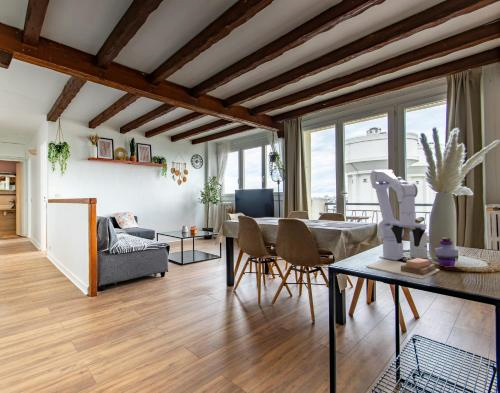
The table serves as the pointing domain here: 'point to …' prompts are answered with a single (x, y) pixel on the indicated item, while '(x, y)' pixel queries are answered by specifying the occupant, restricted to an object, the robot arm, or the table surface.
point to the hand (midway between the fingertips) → (407, 244)
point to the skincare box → (418, 247)
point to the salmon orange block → (418, 263)
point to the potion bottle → (446, 253)
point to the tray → (418, 271)
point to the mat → (397, 268)
